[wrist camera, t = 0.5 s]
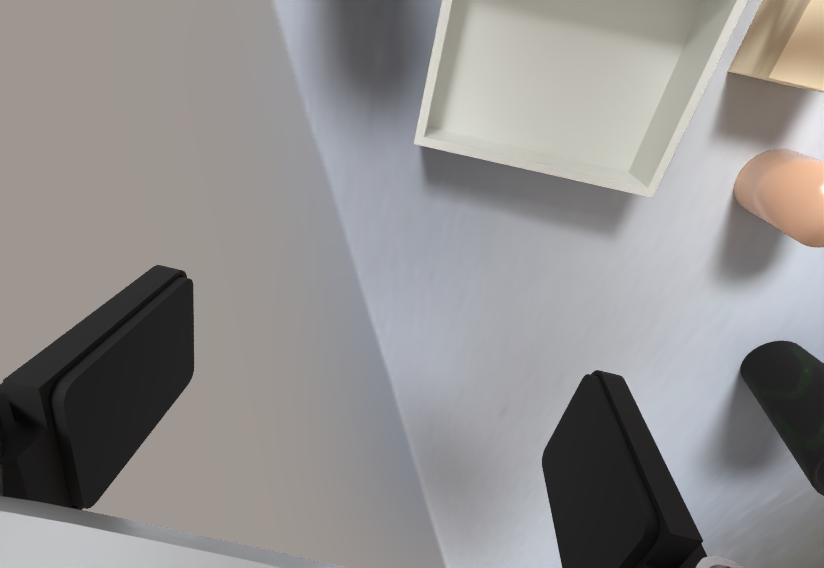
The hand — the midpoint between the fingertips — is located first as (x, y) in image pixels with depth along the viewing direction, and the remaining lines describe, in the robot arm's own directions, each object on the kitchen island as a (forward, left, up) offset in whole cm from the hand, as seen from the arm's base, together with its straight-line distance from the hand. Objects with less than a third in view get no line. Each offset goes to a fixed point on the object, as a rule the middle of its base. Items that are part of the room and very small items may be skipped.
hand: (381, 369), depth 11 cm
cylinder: (-2, +26, -29) cm, 39 cm away
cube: (-11, +22, -29) cm, 38 cm away
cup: (+14, +36, -29) cm, 49 cm away
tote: (-7, +7, -29) cm, 31 cm away
